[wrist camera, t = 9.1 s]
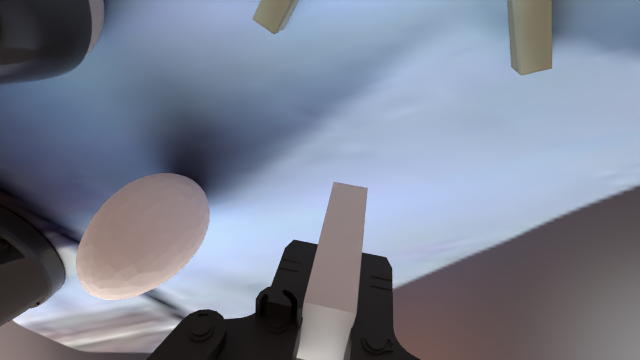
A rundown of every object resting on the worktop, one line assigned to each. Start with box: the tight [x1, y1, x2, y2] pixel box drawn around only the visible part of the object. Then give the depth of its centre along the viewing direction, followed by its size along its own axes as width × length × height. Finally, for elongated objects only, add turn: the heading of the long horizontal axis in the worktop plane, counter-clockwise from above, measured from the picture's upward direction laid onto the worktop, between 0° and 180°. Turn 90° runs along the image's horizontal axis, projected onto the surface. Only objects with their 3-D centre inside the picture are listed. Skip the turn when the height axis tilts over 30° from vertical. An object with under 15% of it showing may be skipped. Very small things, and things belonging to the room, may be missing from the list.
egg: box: [76, 173, 210, 300], centre depth 26 cm, size 7×7×12 cm
